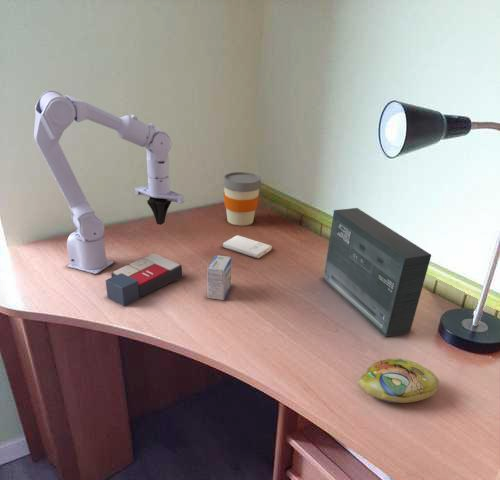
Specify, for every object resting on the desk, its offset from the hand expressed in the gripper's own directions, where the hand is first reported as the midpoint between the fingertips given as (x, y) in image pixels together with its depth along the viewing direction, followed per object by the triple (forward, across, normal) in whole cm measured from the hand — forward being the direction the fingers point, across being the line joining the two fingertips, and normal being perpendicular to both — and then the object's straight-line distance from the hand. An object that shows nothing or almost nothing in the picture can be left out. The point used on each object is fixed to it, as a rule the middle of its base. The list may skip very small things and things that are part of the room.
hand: (160, 223), depth 139 cm
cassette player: (+10, -60, +1) cm, 61 cm away
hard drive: (+10, -21, -15) cm, 27 cm away
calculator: (+10, -6, +16) cm, 20 cm away
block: (+9, -5, +27) cm, 29 cm away
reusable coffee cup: (+10, -10, -35) cm, 38 cm away
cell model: (+10, -73, +32) cm, 80 cm away
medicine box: (+10, -25, +13) cm, 29 cm away
